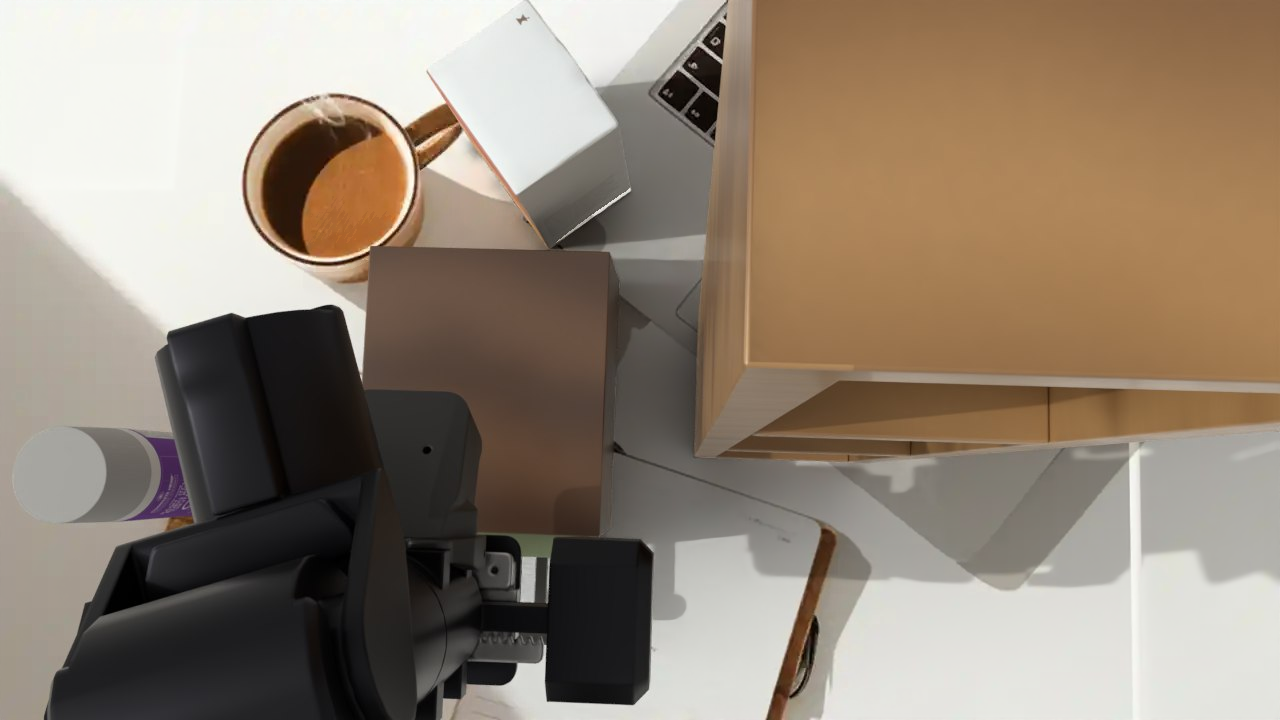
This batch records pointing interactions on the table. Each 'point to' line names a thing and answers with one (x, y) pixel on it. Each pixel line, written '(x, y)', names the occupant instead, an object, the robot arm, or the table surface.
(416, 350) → the brown box
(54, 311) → the table surface
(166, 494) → the container
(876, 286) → the rack
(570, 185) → the small box
